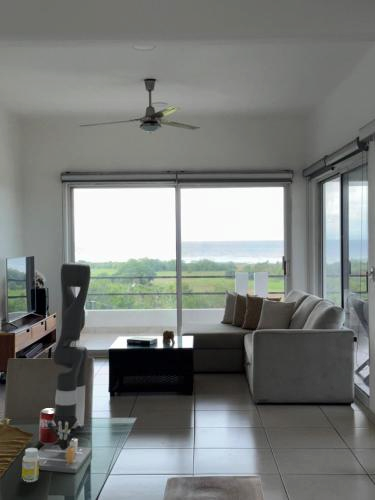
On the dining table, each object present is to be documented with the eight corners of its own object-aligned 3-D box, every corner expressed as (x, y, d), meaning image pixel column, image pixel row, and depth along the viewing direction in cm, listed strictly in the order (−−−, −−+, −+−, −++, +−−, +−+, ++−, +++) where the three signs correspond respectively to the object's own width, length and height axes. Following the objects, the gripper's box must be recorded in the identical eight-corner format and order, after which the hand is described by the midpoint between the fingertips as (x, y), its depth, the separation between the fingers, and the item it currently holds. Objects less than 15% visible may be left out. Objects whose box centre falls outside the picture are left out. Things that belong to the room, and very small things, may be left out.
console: (44, 448, 221) (45, 443, 221) (91, 452, 219) (92, 447, 219) (24, 468, 201) (24, 463, 201) (76, 473, 199) (76, 468, 199)
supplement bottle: (27, 484, 188) (29, 454, 188) (18, 479, 192) (19, 449, 192) (42, 479, 193) (43, 450, 192) (32, 474, 196) (33, 445, 196)
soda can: (53, 445, 223) (54, 414, 223) (35, 443, 225) (37, 412, 225) (61, 439, 231) (62, 409, 230) (44, 437, 232) (45, 407, 232)
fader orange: (68, 458, 207) (69, 445, 207) (74, 459, 207) (75, 446, 207) (65, 462, 204) (66, 449, 204) (71, 462, 203) (72, 449, 203)
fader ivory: (71, 450, 215) (72, 437, 215) (77, 450, 215) (77, 438, 215) (69, 453, 212) (69, 441, 212) (74, 454, 212) (75, 441, 211)
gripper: (86, 400, 216) (84, 447, 217) (51, 397, 218) (49, 443, 218) (80, 405, 209) (78, 454, 209) (44, 402, 210) (42, 451, 211)
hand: (63, 448), depth 214 cm, fingers closed
